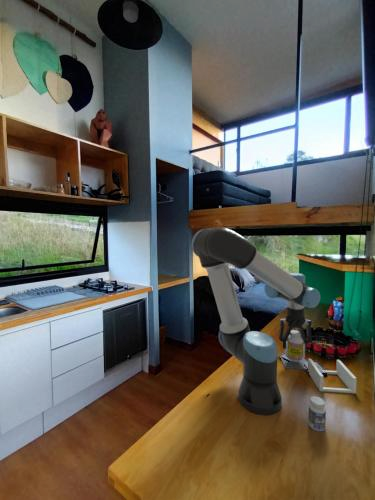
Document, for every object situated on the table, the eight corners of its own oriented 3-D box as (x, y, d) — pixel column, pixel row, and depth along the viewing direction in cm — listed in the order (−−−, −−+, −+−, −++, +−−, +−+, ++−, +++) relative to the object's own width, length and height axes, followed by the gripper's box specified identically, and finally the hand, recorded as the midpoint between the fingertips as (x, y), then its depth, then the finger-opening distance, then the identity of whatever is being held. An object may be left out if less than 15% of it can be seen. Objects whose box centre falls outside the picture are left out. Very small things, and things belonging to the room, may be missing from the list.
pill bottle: (316, 433, 73) (317, 407, 73) (304, 421, 78) (305, 397, 77) (328, 429, 75) (329, 404, 74) (317, 418, 79) (317, 394, 79)
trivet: (285, 368, 108) (285, 367, 108) (279, 356, 118) (279, 355, 118) (311, 370, 106) (311, 369, 106) (302, 357, 117) (302, 356, 117)
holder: (319, 390, 93) (320, 376, 92) (307, 371, 105) (307, 358, 105) (355, 393, 91) (356, 378, 90) (339, 373, 104) (339, 359, 103)
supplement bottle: (288, 361, 109) (288, 334, 108) (285, 354, 116) (285, 328, 115) (304, 363, 108) (304, 335, 107) (300, 355, 115) (300, 329, 114)
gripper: (275, 309, 108) (274, 358, 110) (321, 310, 105) (320, 361, 107) (271, 304, 115) (270, 350, 117) (315, 305, 113) (313, 352, 114)
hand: (294, 355), depth 112 cm, fingers closed on supplement bottle, 7 cm apart
